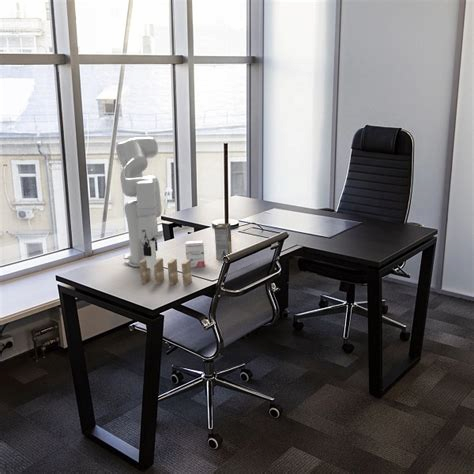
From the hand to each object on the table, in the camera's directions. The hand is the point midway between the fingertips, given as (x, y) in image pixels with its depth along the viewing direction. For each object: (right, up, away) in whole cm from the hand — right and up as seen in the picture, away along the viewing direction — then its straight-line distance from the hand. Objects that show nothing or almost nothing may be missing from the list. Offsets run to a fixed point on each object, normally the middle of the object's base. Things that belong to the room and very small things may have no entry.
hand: (150, 252), depth 246 cm
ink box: (+16, -7, +38) cm, 42 cm away
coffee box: (+29, -3, +50) cm, 58 cm away
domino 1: (-5, -13, +20) cm, 24 cm away
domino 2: (+1, -13, +18) cm, 23 cm away
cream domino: (0, -5, +2) cm, 6 cm away
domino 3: (+8, -14, +16) cm, 23 cm away
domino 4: (+14, -14, +15) cm, 25 cm away
